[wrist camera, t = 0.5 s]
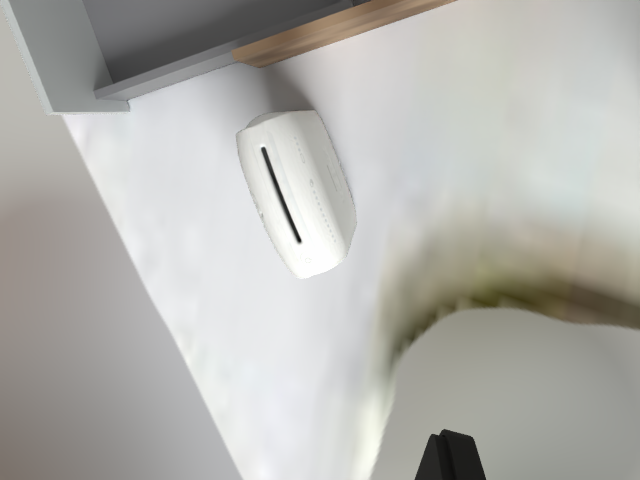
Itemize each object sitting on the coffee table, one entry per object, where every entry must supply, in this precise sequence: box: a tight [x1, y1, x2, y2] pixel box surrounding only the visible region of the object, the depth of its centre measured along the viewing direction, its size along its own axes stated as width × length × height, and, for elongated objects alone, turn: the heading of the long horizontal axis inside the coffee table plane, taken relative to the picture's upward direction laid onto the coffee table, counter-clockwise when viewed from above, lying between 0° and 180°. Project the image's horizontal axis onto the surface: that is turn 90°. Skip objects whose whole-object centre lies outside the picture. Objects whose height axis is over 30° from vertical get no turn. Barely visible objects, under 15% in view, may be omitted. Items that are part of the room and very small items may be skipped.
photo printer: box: [236, 110, 357, 278], centre depth 32 cm, size 10×4×12 cm, turn 21°
